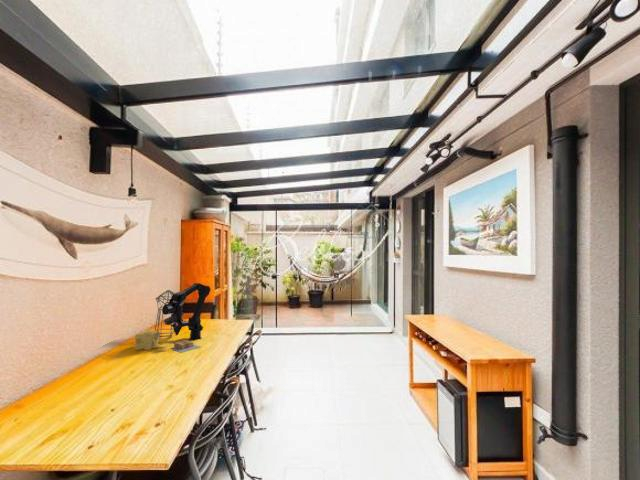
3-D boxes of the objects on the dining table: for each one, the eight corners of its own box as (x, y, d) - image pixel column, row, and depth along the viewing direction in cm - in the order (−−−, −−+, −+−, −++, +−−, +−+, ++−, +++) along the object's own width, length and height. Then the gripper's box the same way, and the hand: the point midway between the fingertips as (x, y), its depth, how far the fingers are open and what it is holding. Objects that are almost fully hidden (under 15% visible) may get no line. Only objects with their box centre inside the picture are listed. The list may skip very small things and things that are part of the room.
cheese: (150, 350, 197) (150, 334, 197) (133, 349, 197) (134, 334, 198) (159, 345, 207) (159, 330, 208) (143, 345, 208) (143, 330, 208)
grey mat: (189, 343, 211) (189, 343, 211) (200, 347, 205) (200, 346, 205) (170, 349, 200) (170, 348, 200) (181, 352, 193) (181, 352, 193)
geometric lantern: (156, 335, 231) (159, 288, 233) (178, 334, 236) (181, 288, 238) (151, 341, 216) (154, 291, 218) (175, 340, 221) (178, 291, 223)
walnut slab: (185, 339, 209) (193, 342, 205) (185, 344, 209) (193, 346, 204) (174, 342, 203) (182, 345, 198) (174, 347, 203) (182, 349, 198)
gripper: (158, 312, 207) (157, 335, 206) (174, 315, 197) (173, 340, 196) (173, 309, 216) (172, 332, 216) (189, 312, 206) (189, 336, 206)
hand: (176, 335), depth 208 cm, fingers closed
